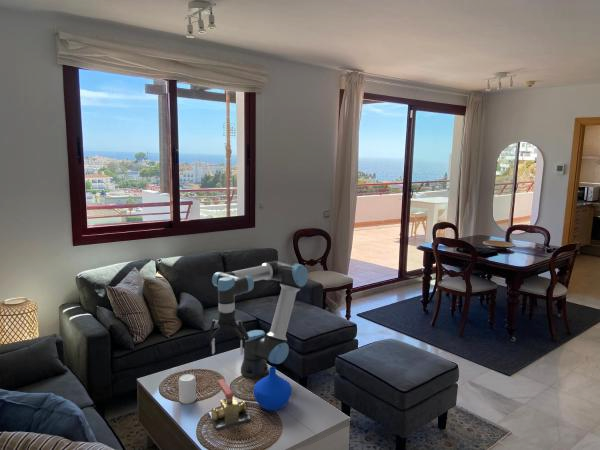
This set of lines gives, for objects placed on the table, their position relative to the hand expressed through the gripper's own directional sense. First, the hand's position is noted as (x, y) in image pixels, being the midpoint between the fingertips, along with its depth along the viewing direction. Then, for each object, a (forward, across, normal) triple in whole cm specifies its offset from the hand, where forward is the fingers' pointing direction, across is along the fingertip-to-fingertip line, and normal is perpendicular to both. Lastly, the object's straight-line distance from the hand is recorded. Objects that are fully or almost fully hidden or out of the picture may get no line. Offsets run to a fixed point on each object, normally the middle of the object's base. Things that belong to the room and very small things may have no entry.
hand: (227, 353), depth 212 cm
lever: (+16, 0, +5) cm, 17 cm away
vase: (+27, -21, -1) cm, 34 cm away
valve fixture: (+26, -2, +11) cm, 29 cm away
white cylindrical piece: (+27, +21, -3) cm, 34 cm away
